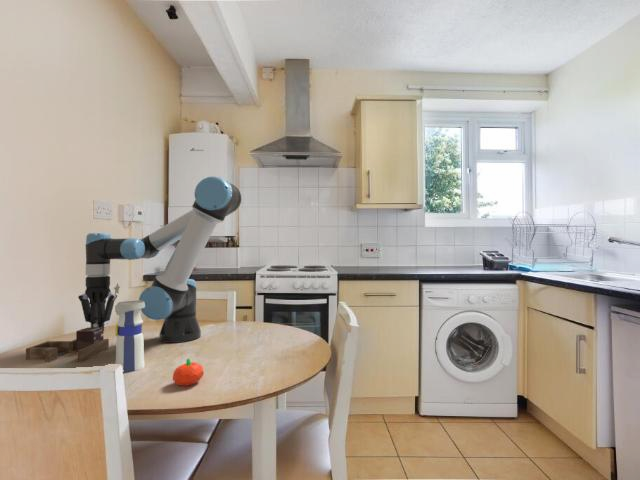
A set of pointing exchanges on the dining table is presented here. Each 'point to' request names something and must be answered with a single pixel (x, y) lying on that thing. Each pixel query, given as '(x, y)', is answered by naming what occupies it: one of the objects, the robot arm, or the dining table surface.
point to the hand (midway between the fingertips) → (97, 341)
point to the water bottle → (129, 335)
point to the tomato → (188, 373)
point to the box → (88, 337)
